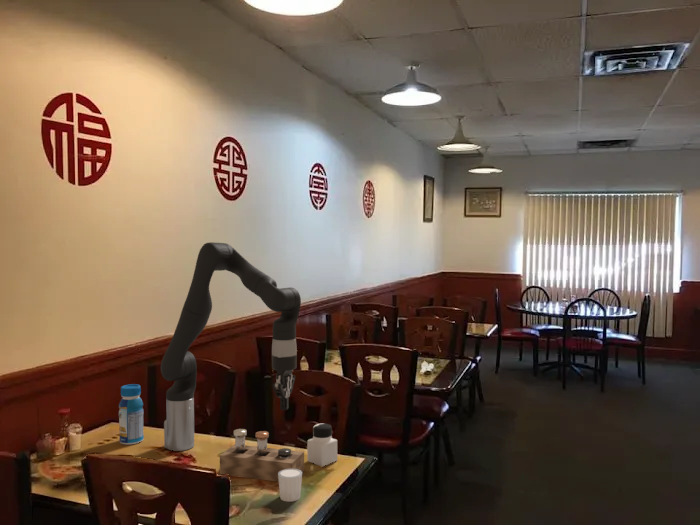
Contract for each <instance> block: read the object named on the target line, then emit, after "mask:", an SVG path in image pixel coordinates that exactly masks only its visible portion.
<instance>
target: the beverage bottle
mask: <svg viewBox="0 0 700 525" xmlns="http://www.w3.org/2000/svg"><path fill="white" fill-rule="evenodd" d="M141 393H142V388H141V385H140V384H138V383H137V384H136V383H131V384H125V385H122V386H120V396H121V398H120V401H119V404H118V408H119V410H118V418H119V420H118V424H119V425H118V426H119V439H118V440H119V441H118V442H119V443H120V444H121V445H126V446H127V445H128V446H130V445H135V444H136V445H137V444H139V442H140V443H141V442H143V441H144V438H145V436H144V414H145V413H144V412H145V411H144V408H143V406H144V402H143V400H142V398H141V397H140V396H141Z"/></svg>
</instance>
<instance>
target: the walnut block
mask: <svg viewBox="0 0 700 525" xmlns="http://www.w3.org/2000/svg"><path fill="white" fill-rule="evenodd" d="M279 449H280V448H272V447H267V456H257V446H255V445H254V446H253V445H245V453H244V454H239V453H235V444H233V445H232V446H230V447H229V448H228V449H226V450H225V451H224V452H222V453H221V454H219V475H221V474H229V475H230V476H229V475H228V476H229V477H239V478H246V479H256V480H262V481H271V482H278V483H279V479H278V472H280V471H281V470H284V469H298V470H301V471H302V473H304V471H305V451H301V450H292V449H291V455H290V458H289V459H284V458H280V456H278V450H279Z"/></svg>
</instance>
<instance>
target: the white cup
mask: <svg viewBox="0 0 700 525" xmlns="http://www.w3.org/2000/svg"><path fill="white" fill-rule="evenodd" d="M278 479H279V482H278V487H279V489H278V490H279V498H280V500H281V501H283V502H289V503H290V502H296V501H299V500H300V499H301V494H302V492H301V491H302V481H303V472H302V471H301V470H298V469H284V470H281V471H280V472H278Z"/></svg>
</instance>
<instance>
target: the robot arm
mask: <svg viewBox="0 0 700 525" xmlns="http://www.w3.org/2000/svg"><path fill="white" fill-rule="evenodd" d="M215 271H216V272H217V271H228V272H230V273H232V274H235V275H236V276H237V277H238V278H239V279H240V281H241V284H243V286H244V287H245V288H246V289H247V290H248V291H250V292H251V293H252V294H254V295H256V296H258V297H259V298H260V300H261V301H262V302H263V303H264V304H265V306H266V307H267V308H268V309H269V310H271V311H273V312H275V313H280V316H279V317H278V318H277V319H275V320H274V321H273V323H272V341H271V342H272V344H271V369H272V370H274V371H276V376H275V380H276V382H273V383H272V389H273V390H274V393H275V396H276V398H279V404H280V405H279V409H280V410H281V411H287V410H288V409H289V408H290V407H289V402H290V400H289V398H290V396H291V395H290V394H292V392H293V389H294V384H295V381H296V375H295V374H293V371H294V370H295V369H297V364H298V363H297V362H298V361H297V358H298V357H297V356H298V355H297V351H298V350H297V349H298V348H297V347H298V346H297V327H296V326H297V323H298V320H299V319H298V318H299V314H300V309H301V306H302V305H301V304H302V301H301V299H302V298H301V295H300V292H299V291H298V290H297V289H296V288H294V287H282V288H279V287H278V284H277V282H276V280H275V279H274V278H273V277H271V276H270V275H268V274H266V273H265V272H263V271H261V270H260V269H259V268H257V267H256V266H255V265H253V264H252V263H250V262H249V261H248V260H247V259H245V257H244V256H243V255H242V254H240V253H239V252H238V251H237V249H235V248H234V247H233V246H232V245H231V244H228V243H224V242H206V243H204V244H203V245H202V246H201V248H200V249H199V251H198V255H197V258H196V263H195V265H194V272H193V276H192V279H191V283H190V286H189V290H188V293H187V295H186V299H185V301H184V304H183V307H182V310H181V312H180V315H179V319H178V322H177V324H176V327H175V330H174V333H173V335H172V338H171V340H170V342H169V344H168V347H167V349H166V351H165V353H164V355H163V358H162V360H161V362H160V363H161V364H160V373H161V376H162V377H163V378H164V380H166V381H169V382H173V384H172V385H171V386H170V387H169V388H168V389H167V390H166V394H165V398H166V399H165V400H166V405H165V406H166V419H165V420H164V422H163V429H164V430H163V431H164V432H163V435H164V436H163V437H164V448H165V449H167V450H169V451H172V450H173V452H178V451H179V452H180V451H181V452H182V451H187V450H190V449H193V448H194V447H195V396H194V395H195V391H196V388H197V369H198V368H197V366H198V365H197V359H196V357H195V355H194V354H193V353H192V352H191V351H190V350H189V349H190V347H191V345H192V344H193V343H194V341H195V340H196V339H197V337H198V336H200V334H201V333H202V332H203V330H204V329H205V327H206V326H207V323H208V321H209V319H210V316H211V313H212V311H213V310H212V309H213V302H212V301H213V300H212V297H211V293H210V283H211V280H212V277H213V275H214V272H215ZM188 350H189V351H188Z"/></svg>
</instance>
